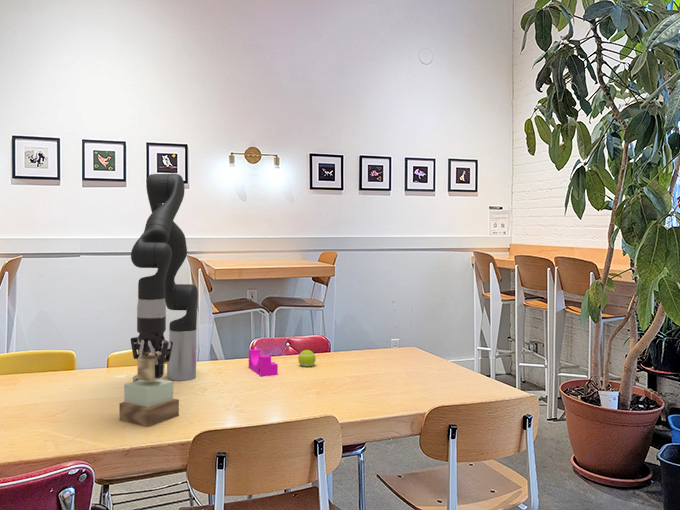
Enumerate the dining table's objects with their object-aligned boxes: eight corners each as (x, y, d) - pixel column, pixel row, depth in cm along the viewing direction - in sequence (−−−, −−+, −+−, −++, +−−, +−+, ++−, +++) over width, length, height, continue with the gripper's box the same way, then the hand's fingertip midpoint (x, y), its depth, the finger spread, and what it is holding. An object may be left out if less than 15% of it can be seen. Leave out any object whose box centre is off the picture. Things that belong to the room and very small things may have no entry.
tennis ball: (314, 369, 219) (315, 352, 219) (297, 369, 220) (297, 351, 219) (315, 365, 226) (316, 348, 226) (298, 365, 226) (299, 348, 226)
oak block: (137, 379, 157) (137, 357, 157) (151, 375, 162) (151, 354, 162) (150, 381, 155) (150, 359, 155) (164, 377, 160) (164, 356, 159)
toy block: (277, 376, 208) (277, 356, 208) (260, 378, 206) (261, 357, 205) (264, 367, 222) (264, 348, 222) (248, 369, 219) (248, 349, 219)
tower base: (119, 421, 156) (119, 403, 156) (150, 411, 166) (150, 393, 166) (148, 428, 151) (148, 409, 151) (178, 417, 161) (178, 399, 161)
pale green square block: (124, 402, 157) (124, 384, 157) (149, 394, 165) (150, 377, 165) (147, 407, 153) (147, 388, 153) (172, 399, 161) (172, 381, 160)
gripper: (122, 314, 158) (121, 375, 159) (160, 318, 151) (160, 382, 152) (143, 311, 165) (142, 370, 165) (180, 315, 158) (180, 376, 159)
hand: (151, 376), depth 159 cm, fingers closed on oak block, 5 cm apart
